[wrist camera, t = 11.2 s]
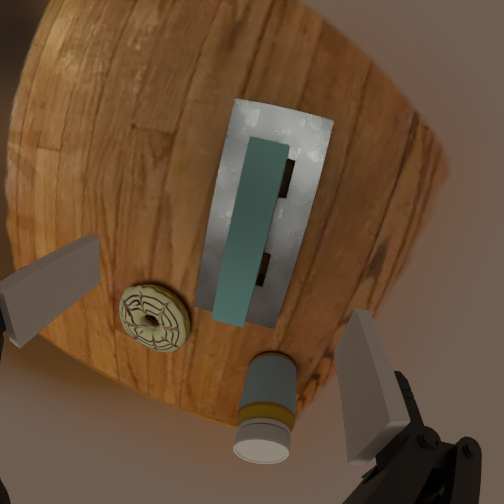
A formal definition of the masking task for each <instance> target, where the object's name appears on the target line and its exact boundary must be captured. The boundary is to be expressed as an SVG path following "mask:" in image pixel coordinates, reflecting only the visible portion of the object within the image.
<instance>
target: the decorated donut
mask: <svg viewBox="0 0 504 504" xmlns="http://www.w3.org/2000/svg"><path fill="white" fill-rule="evenodd" d="M119 310H120V318H121V321H122V324H123V327H124V328H125V330H126V331H127V332H128V333H129V334H130V335H131V336H132V337H133V338H134V339H135V340H137V341H138V342H139V343H140V344H142V345H143V346H145V347H147V348H150V349H153V350H155V351H162V352H169V351H170V352H171V351H174V350H177V349H178V348H179V347H181V346H182V344H183V343H184V342H185V341H186V339H187V337H188V336H189V333H190V323H189V317H188V313H187V310H186V308H185V306H184V305H183V303H182V302H181V300H180V299H179V298H178V297H177V296H176V295H175V294H173V293H172V292H171V291H169V290H168V289H166V288H164V287H162V286H158V285H154V284H142V285H138V286H136V287H133V286H131V287H128V288H127V289H126V290H125V291H124V294H123V296H122V298H121V301H120V306H119ZM149 315H153V316H155V317H156V319H157V320H158V321H155V320H153V319H151V318H150V317H149Z"/></svg>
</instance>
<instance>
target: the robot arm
mask: <svg viewBox="0 0 504 504" xmlns="http://www.w3.org/2000/svg"><path fill="white" fill-rule="evenodd" d="M99 284H100V237H97V236H94V235H91V234H88V235H86V236H84V237H82V238H80V239H78V240H76V241H74V242H72V243H70V244H67V245H65V246H63V247H61V248H59V249H58V250H56V251H54V252H52V253H50V254H48V255H46V256H44V257H42V258H40V259H38V260H36V261H35V262H33V263H31V264H29V265H27V266H25V267H23V268H21V269H19V270H18V271H17V272H14V273H12V274H11V275H9V276H7V277H5V278H4V279H2V280H1V281H0V360H1V354H2V348H3V342H4V336H3V332H4V331H5V330H7V333H8V336H9V339H10V341H11V342H12V343H14V344H15V345H16V346H17V347H19V348H21V347H22V346H23V345H25V344H26V343H27V342H28V341H29V340H30V339H31V338H33V337H34V336H35V335H36V334H37V333H38V332H40V331H41V330H42V329H43V328H44V327H46V326H47V325H48V324H49V323H50V322H52V321H53V320H54V319H55V318H56V317H58V316H59V315H60V314H61V313H63V312H64V311H65V310H66V309H68V308H69V307H70V306H71V305H73V304H74V303H75V302H76V301H78V300H79V299H80V298H82V297H83V296H84V295H85V294H87V293H88V292H89V291H91V290H92V289H93V288H95V287H96V286H97V285H99ZM334 354H335V361H336V367H337V374H338V381H339V388H340V394H341V402H342V411H343V419H344V429H345V438H346V449H347V461H348V464H367V463H368V462H370V461H371V460H372V459H373V458H374V457H376V464H377V465H376V466H374V467H373V468H372V469H371V470H370V471H368V472H367V473H366V474H364V475H363V476H362V478H364V479H363V480H362V482H361V483H360V484H359V485H358V486H357V488H356V489H355V490H354V491H353V492H352V494H351V495H350V496H349V497H348V498H347V499H346V500H345V502H343V503H342V504H478V503H479V494H480V483H481V460H482V453H481V448H480V446H479V444H478V442H476V440H474V439H472V438H471V437H463V438H461V439H460V440H459V441H458V442H457V443H456V444H455V445H454V444H450V443H445V442H441V440H440V437H439V435H438V434H437V432H436V431H434V430H433V429H432V428H430V427H427V426H424V424H423V421H422V418H421V416H420V413H419V409H418V407H417V404H416V402H415V399H414V396H413V393H412V392H411V388H410V385H409V383H408V380H407V379H406V378H405V377H404V375H403V374H402V373H401V372H399V371H393V368H392V365H391V363H390V360H389V358H388V355H387V353H386V350H385V347H384V345H383V342H382V340H381V337H380V335H379V333H378V330H377V328H376V325H375V323H374V321H373V318H372V316H371V314H370V311H368V310H364V309H360V308H356V307H355V309H354V311H353V313H352V316H351V318H350V320H349V322H348V324H347V326H346V329H345V331H344V333H343V335H342V337H341V339H340V341H339V343H338V345H337V347H336V349H335V351H334ZM443 488H444V489H443ZM0 504H11V503H10V499H9V495H8V493H7V490H6V488H5V486H4V485H3V483H2V482H1V479H0Z"/></svg>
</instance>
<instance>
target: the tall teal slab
mask: <svg viewBox="0 0 504 504" xmlns="http://www.w3.org/2000/svg"><path fill="white" fill-rule="evenodd" d="M289 149H290V145H287V144H283V143H279V142H274V141H270V140H266V139H261V138H257V137H252V136H250V137H249V141H248V146H247V150H246V154H245V159H244V163H243V167H242V172H241V176H240V181H239V185H238V190H237V194H236V199H235V203H234V208H233V213H232V217H231V222H230V227H229V231H228V236H227V241H226V246H225V251H224V256H223V261H222V266H221V271H220V276H219V281H218V286H217V291H216V296H215V302H214V307H213V312H212V318H211V319H214V320H217V321H221V322H224V323H228V324H231V325H235V326H238V327H242V328H243V326H244V323H245V320H246V316H247V313H248V310H249V306H250V303H251V299H252V295H253V291H254V288H255V284H256V281H257V278H258V274H259V271H260V268H261V264H262V260H263V256H264V249H265V245H266V241H267V237H268V233H269V229H270V225H271V221H272V217H273V213H274V209H275V206H276V202H277V198H278V194H279V191H280V188H281V185H282V181H283V177H284V173H285V169H286V166H285V165H286V161H287V157H288V153H289Z"/></svg>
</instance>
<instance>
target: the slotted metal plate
mask: <svg viewBox="0 0 504 504" xmlns="http://www.w3.org/2000/svg"><path fill="white" fill-rule="evenodd" d="M333 123H334V121H333V120H329V119H326V118H322V117H319V116H315V115H312V114H308V113H304V112H300V111H296V110H292V109H288V108H283V107H279V106H274V105H269V104H265V103H259V102H254V101H249V100H243V99H237V98H235V101H234V105H233V109H232V113H231V117H230V122H229V126H228V130H227V134H226V139H225V143H224V148H223V152H222V157H221V161H220V166H219V171H218V175H217V180H216V185H215V190H214V195H213V200H212V205H211V210H210V216H209V221H208V226H207V232H206V237H205V243H204V249H203V255H202V260H201V266H200V273H199V279H198V285H197V292H196V298H195V305H194V306H195V307H198V308H201V309H204V310H208V311H211V312H213V307H214V302H215V296H216V291H217V286H218V281H219V276H220V271H221V266H222V261H223V256H224V251H225V246H226V241H227V236H228V231H229V227H230V222H231V217H232V213H233V208H234V203H235V199H236V194H237V190H238V185H239V181H240V176H241V172H242V167H243V163H244V159H245V154H246V150H247V146H248V141H249V137H250V136H252V137H257V138H261V139H266V140H270V141H274V142H279V143H283V144H287V145H290V149H289V153H288V157H287V159H291V160H295V164H294V168H293V172H292V176H291V180H290V184H289V188H288V192H287V195H283V194H278V198H277V202H276V206H275V209H274V213H273V217H272V221H271V225H270V229H269V233H268V237H267V241H266V245H265V249H264V252H265V253H269V254H271V257H270V260H269V264H268V268H267V271H266V275H265V276H262V275H258V278H257V281H256V284H255V288H254V291H253V295H252V299H251V303H250V306H249V310H248V313H247V316H246V320H245V321H247V322H250V323H254V324H258V325H262V326H266V327H270V328H274V329H275V326H276V323H277V320H278V317H279V314H280V311H281V308H282V304H283V301H284V298H285V295H286V292H287V289H288V286H289V283H290V279H291V276H292V273H293V270H294V266H295V263H296V260H297V257H298V253H299V250H300V247H301V243H302V240H303V236H304V233H305V230H306V226H307V223H308V219H309V215H310V212H311V208H312V205H313V201H314V197H315V194H316V190H317V186H318V183H319V179H320V175H321V171H322V167H323V163H324V159H325V155H326V151H327V147H328V143H329V139H330V135H331V131H332V127H333Z"/></svg>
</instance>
